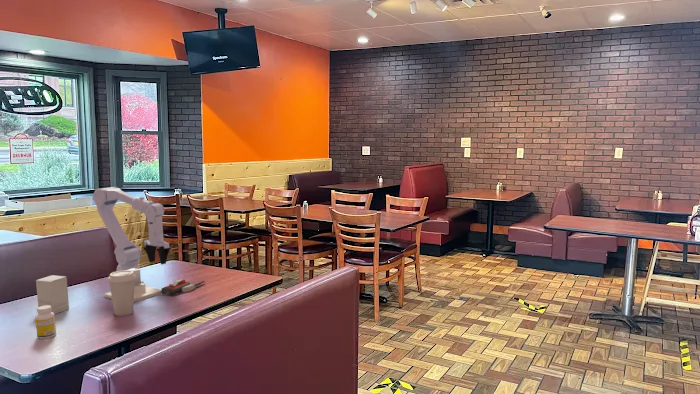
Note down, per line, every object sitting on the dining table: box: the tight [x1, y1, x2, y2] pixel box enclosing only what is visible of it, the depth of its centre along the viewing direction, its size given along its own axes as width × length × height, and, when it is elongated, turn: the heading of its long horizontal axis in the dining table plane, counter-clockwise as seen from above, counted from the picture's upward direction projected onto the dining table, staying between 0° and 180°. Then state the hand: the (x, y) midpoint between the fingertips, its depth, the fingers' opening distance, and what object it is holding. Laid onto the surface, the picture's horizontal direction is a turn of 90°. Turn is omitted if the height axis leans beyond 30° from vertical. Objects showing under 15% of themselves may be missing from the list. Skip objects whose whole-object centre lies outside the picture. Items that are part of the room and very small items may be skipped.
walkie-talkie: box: [160, 278, 206, 296], centre depth 218 cm, size 9×4×20 cm
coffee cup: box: [107, 270, 136, 317], centre depth 188 cm, size 10×10×15 cm
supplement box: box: [35, 274, 70, 315], centre depth 191 cm, size 7×7×13 cm
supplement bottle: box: [34, 305, 57, 340], centre depth 167 cm, size 5×5×10 cm
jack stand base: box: [103, 282, 163, 303], centre depth 210 cm, size 16×16×4 cm
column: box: [129, 268, 142, 287], centre depth 209 cm, size 4×4×7 cm
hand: (157, 262), depth 221 cm, fingers open, 7 cm apart
